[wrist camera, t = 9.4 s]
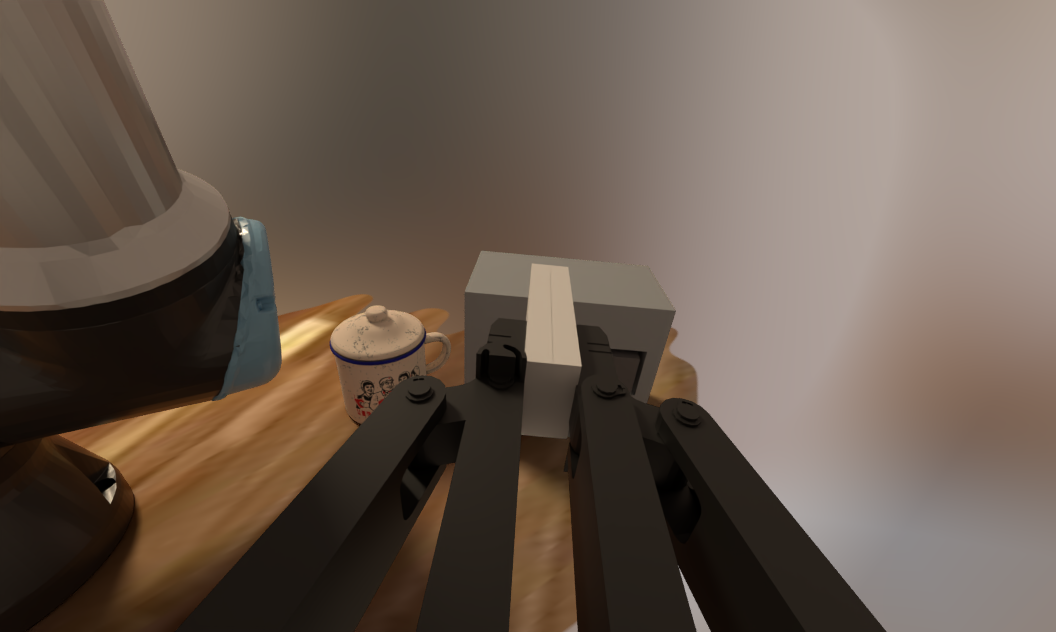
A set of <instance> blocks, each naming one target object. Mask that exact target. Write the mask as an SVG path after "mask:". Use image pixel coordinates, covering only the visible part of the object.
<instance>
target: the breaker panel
mask: <svg viewBox="0 0 1056 632" xmlns="http://www.w3.org/2000/svg"><path fill="white" fill-rule="evenodd" d="M532 263H533V264H543V265H553V266H563V267H568V269H569V277H570V284H571V291H572V299H573V306H574V314H575V321H576V324H578V325H588V326H599V327H600V328H601V329H602V330H603V331H604V332H605V334H606V335H607V337H608V341H609V346H610V349H611V354H612V357H613V360H614V364H615V368H616V372H617V376H618V380H620V381H621V382H622V383H623V384H624V385H625V386H626V387H627V388H628V390H629V392H630V395H631V397H633V398H635V399H636V400H639V401H641V402H644V403H647V402H648V398H649V395H650V392H651V389H652V386H653V382H654V379H655V376H656V373H657V370H658V366H659V363H660V360H661V357H662V354H663V350H664V347H665V344H666V341H667V338H668V335H669V331H670V328H671V325H672V322H673V319H674V315H675V312H676V310H675V309H674V307H673V305H672V304H671V302H670V301H669V299H668V297H667V296H666V294H665V292H664V291H663V289H662V288H661V286H660V284H659V283H658V281H657V280H656V278H655V276H654V275H653V273H652V272H651V270H650V268H649V267H648V266H643V265H642V266H641V265H632V264H621V263H610V262H609V263H608V262H598V261H588V260H587V261H586V260H577V259H566V258H555V257H543V256H533V255H522V254H510V253H499V252H489V251H481V253H480V256H479V258H478V260H477V263H476V266H475V268H474V270H473V273H472V275H471V278H470V280H469V282H468V285H467V287H466V290H465V384H466V383H468V382H470V381H472V380H473V379H475V378H476V353H477V351H478V350H479V348H480V347H482V346H484V345H485V344H487V340H488V336H489V332H490V327H491V325H492V324H493V323H494V322H495V321H496V320H497V319H498V318H505V319H516V320H526V315H527V305H528V295H529V285H530V276H531V266H532ZM567 437H570V434H569V431H568V436H567Z"/></svg>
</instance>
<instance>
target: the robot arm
mask: <svg viewBox="0 0 1056 632" xmlns="http://www.w3.org/2000/svg"><path fill="white" fill-rule="evenodd" d="M281 363H282V357H281V343H280V334H279V324H278V316H277V309H276V305H275V293H274V282H273V274H272V266H271V259H270V252H269V246H268V240H267V233H266V229H265V227H264V225H263V224H262V223H261V222H259V221H257V220H251V219H250V220H249V219H246V218H244V217H237V218H233V219H232V217H231V214H230V211H229V208H228V206H227V204H226V203H225V201H224V199H223V198H222V196H221V194H220V193H219V192H218V191H217V190H216V189H215V188H214V187H213V186H212V185H210V184H209V183H207V182H205V181H204V180H202V179H200V178H198V177H196V176H194V175H192V174H190V173H188V172H185V171H183V170H181V169H178V168H176V166H175V163H174V161H173V159H172V156H171V154H170V152H169V150H168V147H167V145H166V143H165V140H164V138H163V136H162V133H161V131H160V129H159V127H158V124H157V122H156V120H155V117H154V115H153V113H152V111H151V108H150V106H149V104H148V101H147V99H146V97H145V94H144V92H143V90H142V88H141V85H140V83H139V81H138V78H137V76H136V74H135V71H134V69H133V67H132V65H131V62H130V60H129V58H128V55H127V53H126V51H125V48H124V46H123V44H122V42H121V39H120V38H119V35H118V32H117V30H116V28H115V25H114V23H113V21H112V19H111V16H110V14H109V12H108V9H107V7H106V5H105V3H104V0H0V632H24V631H26V630H27V629H29V628H30V627H31V626H33V625H34V624H36V623H37V622H38V621H40V620H41V619H42V618H44V617H45V616H46V615H47V614H49V613H50V612H51V611H53V610H54V609H55V608H56V607H57V606H59V605H60V604H61V603H62V602H64V601H65V600H66V599H67V598H68V597H69V596H70V595H72V594H73V593H74V592H75V591H76V590H77V589H78V588H79V587H80V586H81V585H82V584H83V583H84V582H85V581H86V580H87V579H88V578H89V577H90V576H91V575H92V574H93V573H94V572H95V571H96V570H97V569H98V568H99V567H100V566H101V565H102V563H103V562H104V561H105V560H106V559H107V557H108V556H109V555H110V554H111V552H112V551H113V550H114V548H115V547H116V545H117V544H118V542H119V541H120V539H121V538H122V536H123V534H124V533H125V531H126V529H127V527H128V524H129V522H130V520H131V516H132V513H133V508H134V496H133V492H132V490H131V488H130V486H129V485H128V483H127V482H126V480H125V479H124V477H123V476H122V474H121V473H120V471H119V470H118V469H117V468H116V467H115V466H114V465H113V464H112V463H110V462H109V461H108V460H106V459H104V458H102V457H100V456H98V455H96V454H94V453H92V452H90V451H88V450H87V449H85V448H83V447H81V446H79V445H77V444H75V443H73V442H71V441H69V440H67V439H65V438H63V437H61V436H59V435H57V434H62V433H66V432H71V431H75V430H80V429H84V428H89V427H93V426H98V425H102V424H107V423H111V422H116V421H120V420H125V419H129V418H134V417H138V416H143V415H147V414H152V413H156V412H161V411H165V410H170V409H174V408H179V407H183V406H188V405H192V404H197V403H201V402H206V401H210V400H212V401H216V400H221V399H223V398H225V397H226V396H227V395H229V394H232V393H236V392H239V391H243V390H247V389H250V388H254V387H258V386H261V385H264V384H266V383H268V382H269V381H271V380H272V379H273V378H274V377H275V376H276V375H277V373H278V372H279V370H280V367H281ZM568 431H569V434H570V443H569V448H568V452H567V457H566V462H565V467H564V472H568V474H569V491H570V507H571V524H572V541H573V558H574V575H575V591H576V608H577V625H578V632H696V628H695V624H694V621H693V617H692V614H691V610H690V607H689V603H688V599H687V596H686V592H685V589H684V585H683V581H682V578H681V574H680V571H679V568H680V570H681V572H682V574H683V576H684V578H685V580H686V582H687V584H688V586H689V588H690V590H691V592H692V594H693V596H694V598H695V600H696V602H697V604H698V606H699V608H700V610H701V612H702V614H703V616H704V619H705V621H706V622H707V625H708V627H709V629H710V630H711V632H886V630H885V629H884V628H883V627H882V626H881V624H880V623H879V622H878V621H877V620H876V618H874V616H873V615H872V613H871V612H870V611H869V610H868V608H866V606H865V605H864V604H863V602H862V601H861V600H860V599H859V597H858V596H857V595H856V594H855V592H854V591H853V590H852V589H851V588H850V586H849V585H848V584H847V583H846V581H845V580H844V579H843V578H842V576H841V575H840V574H839V573H838V572H837V570H836V569H835V568H834V567H833V565H832V564H831V563H830V562H829V561H828V559H827V558H826V557H825V556H824V554H823V553H822V552H821V551H820V549H819V548H818V547H817V546H816V545H815V543H814V542H813V541H812V540H811V538H810V537H809V536H808V535H807V534H806V533H805V531H804V530H803V529H802V527H801V526H800V525H799V524H798V523H797V521H796V520H795V519H794V518H793V516H792V515H791V514H790V513H789V511H788V510H787V509H786V508H785V506H784V505H783V504H782V503H781V502H780V500H779V499H778V498H777V497H776V495H775V494H774V493H773V492H772V491H771V489H770V488H769V487H768V486H767V485H766V483H765V482H764V481H763V480H762V478H761V477H760V476H759V475H758V473H757V472H756V471H755V470H754V469H753V467H752V466H751V465H750V464H749V462H748V461H747V460H746V459H745V457H744V456H743V455H742V454H741V453H740V451H739V450H738V449H737V448H736V446H735V445H734V444H733V443H732V441H731V440H730V439H729V438H728V437H727V435H726V434H725V433H724V432H723V431H722V429H721V428H720V427H719V426H718V424H717V423H716V422H715V421H714V420H713V418H712V417H711V416H710V415H709V413H708V412H707V411H705V410H704V409H703V408H702V407H701V406H699V405H697V404H695V403H694V402H692V401H688V400H685V399H681V398H671V399H667V400H665V401H664V402H663V403H662V404H661V405H660V408H659V407H656V406H653V405H650V404H647V403H644V402H641V401H639V400H636V399H635V398H633V397H631V395H630V392H629V390H628V388H627V387H626V386H625V385H624V384H623V383H622V382H621V381H620V380H618V376H617V372H616V368H615V364H614V360H613V357H612V354H611V349H610V346H609V341H608V337H607V335H606V334H605V332H604V331H603V330H602V329H601V328H600V327H599V326H588V325H578V324H576V321H575V314H574V306H573V299H572V291H571V284H570V277H569V269H568V267H563V266H553V265H543V264H533V263H532V266H531V276H530V285H529V295H528V305H527V315H526V320H516V319H505V318H498V319H497V320H496V321H495V322H494V323H493V324H492V325H491V327H490V332H489V336H488V340H487V344H485V345H484V346H482V347H480V348H479V350H478V351H477V353H476V378H475V379H473V380H472V381H470V382H468V383H466V384H464V385H459V386H454V387H446V388H445V385H444V384H443V383H442V382H441V381H440V380H439V379H437V378H434V377H432V376H424V375H421V376H413V377H410V378H408V379H405V380H403V381H402V382H400V383H399V384H398V385H396V386H395V388H394V389H393V390H392V391H391V392H390V393H389V394H388V395H387V396H386V398H385V399H384V400H383V401H382V402H381V403H380V404H379V405H378V406H377V408H376V409H375V410H374V411H373V412H372V413H371V414H370V415H369V416H368V418H367V419H366V420H365V421H364V422H363V423H362V424H361V425H360V426H359V428H358V429H357V430H356V431H355V432H354V433H353V434H352V435H351V436H350V438H349V439H348V440H347V441H346V442H345V443H344V444H343V445H342V446H341V448H340V449H339V450H338V451H337V452H336V453H335V454H334V455H333V456H332V458H331V459H330V460H329V461H328V462H327V463H326V464H325V465H324V466H323V468H322V469H321V470H320V471H319V472H318V473H317V474H316V475H315V476H314V478H313V479H312V480H311V481H310V482H309V483H308V484H307V485H306V486H305V488H304V489H303V490H302V491H301V492H300V493H299V494H298V495H297V496H296V498H295V499H294V500H293V501H292V502H291V503H290V504H289V505H288V506H287V508H286V509H285V510H284V511H283V512H282V513H281V514H280V515H279V516H278V518H277V519H276V520H275V521H274V522H273V523H272V524H271V525H270V526H269V528H268V529H267V530H266V531H265V532H264V533H263V534H262V535H261V536H260V538H259V539H258V540H257V541H256V542H255V543H254V544H253V545H252V546H251V548H250V549H249V550H248V551H247V552H246V553H245V554H244V555H243V556H242V558H241V559H240V560H239V561H238V562H237V563H236V564H235V565H234V566H233V568H232V569H231V570H230V571H229V572H228V573H227V574H226V575H225V577H224V578H223V579H222V580H221V581H220V582H219V583H218V584H217V585H216V587H215V588H214V589H213V590H212V591H211V592H210V593H209V594H208V595H207V597H206V598H205V599H204V600H203V601H202V602H201V603H200V604H199V605H198V607H197V608H196V609H195V610H194V611H193V612H192V613H191V614H190V615H189V617H188V618H187V619H186V620H185V621H184V622H183V623H182V624H181V625H180V627H179V628H178V629H177V630H176V631H175V632H354V630H355V629H356V627H357V625H358V623H359V621H360V620H361V618H362V616H363V614H364V613H365V611H366V609H367V607H368V605H369V604H370V602H371V600H372V598H373V596H374V595H375V593H376V591H377V589H378V588H379V586H380V584H381V582H382V580H383V579H384V577H385V575H386V573H387V572H388V570H389V568H390V566H391V564H392V563H393V561H394V559H395V557H396V556H397V554H398V552H399V550H400V548H401V547H402V545H403V543H404V541H405V540H406V538H407V536H408V534H409V532H410V531H411V529H412V527H413V525H414V524H415V522H416V520H417V518H418V516H419V515H420V513H421V511H422V509H423V507H424V506H425V504H426V502H427V500H428V499H429V497H430V495H431V493H432V491H433V490H434V488H435V486H436V484H437V483H438V481H439V479H440V477H441V475H442V474H443V472H444V470H445V468H446V465H447V464H449V463H454V462H456V464H455V468H454V472H453V476H452V481H451V485H450V489H449V493H448V498H447V502H446V506H445V510H444V515H443V519H442V523H441V527H440V532H439V536H438V540H437V544H436V549H435V553H434V557H433V561H432V566H431V570H430V574H429V578H428V583H427V587H426V591H425V595H424V600H423V604H422V608H421V612H420V617H419V621H418V625H417V629H416V632H509V616H510V601H511V585H512V570H513V554H514V539H515V523H516V507H517V492H518V476H519V461H520V445H521V435H529V436H539V437H550V438H561V439H567V436H568ZM678 566H679V567H678Z"/></svg>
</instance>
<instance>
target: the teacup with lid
mask: <svg viewBox="0 0 1056 632" xmlns="http://www.w3.org/2000/svg"><path fill="white" fill-rule="evenodd" d="M434 341H440V342H443V348H442V352H441V354H440V355H439V357H438V358H437V359H436V360H435V361H434V362H432V363H430V364H427V365H426V364H425V348H424V344H426V343H430V342H434ZM330 349H331V351H332V352H333V354H334V355H335V359H336V364H337V369H338V374H339V378H340V383H341V388H342V393H343V398H344V403H345V408H346V411H347V413H348V415H349V416H350V417H351V418H352V419H353V420H355V421H356V422H358V423H360V424H362V423H363V422H364V421H365V420H366V419H367V418H368V416H369V415H370V414H371V413H372V412H373V411H374V410H375V409H376V408H377V406H378V405H379V404H380V403H381V402H382V401H383V400H384V399H385V398H386V396H387V395H388V394H389V393H390V392H391V391H392V390H393V389H394V388H395V386H396V385H398V384H399V383H400V382H402V381H403V380H405V379H408V378H410V377H413V376H421V375H424V376H426V375H427V374H430V373H432V372H435V371H437V370H438V369H440V368H441V367H442V366H443V365H444V364H445V363H446V361H447V360H448V358H449V355H450V351H451V344H450V341H449V340H448V338H447V337H446V336H445V335H443V334H441V333H437V332H433V333H428V334H426V331H425V328H424V327H423V325H422V323H421V322H420V321H419V320H418V319H417V318H416V317H414V316H412V315H410V314H408V313H404V312H400V311H393V310H387V309H386V308H385V307H383V306H372V307H369V308H368V309H367V310H366V312H365V313H361V314H358V315H355V316H353V317H351V318H349V319H347V320H345V321H344V322H342V323H341V324H340V325H338V326H337V327H336V329H335V330H334V332H333V333H332V336H331V340H330Z"/></svg>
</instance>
